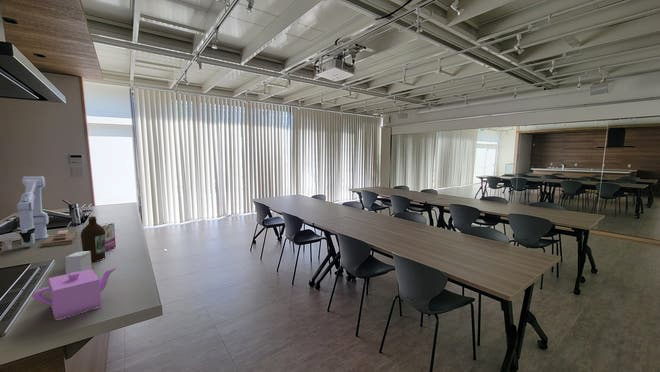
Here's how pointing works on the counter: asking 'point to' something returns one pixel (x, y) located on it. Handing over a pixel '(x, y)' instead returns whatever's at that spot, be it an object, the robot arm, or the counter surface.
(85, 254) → the skincare box
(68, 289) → the teapot
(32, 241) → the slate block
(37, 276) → the counter surface
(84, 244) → the olive oil
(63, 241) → the puzzle board
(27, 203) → the robot arm
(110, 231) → the candy bar box
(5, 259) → the counter surface
